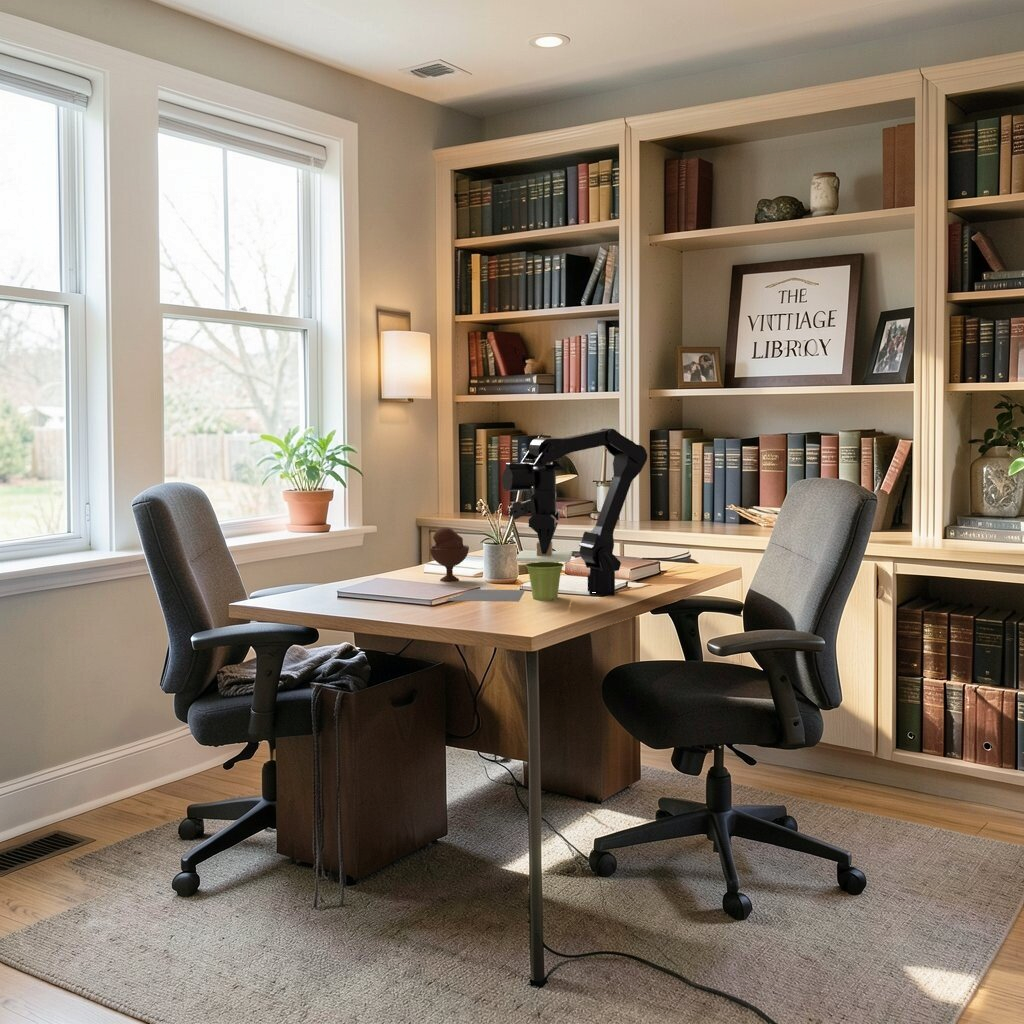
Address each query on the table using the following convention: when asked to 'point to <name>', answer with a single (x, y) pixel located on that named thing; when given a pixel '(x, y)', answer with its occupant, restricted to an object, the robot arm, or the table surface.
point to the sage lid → (544, 555)
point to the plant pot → (544, 579)
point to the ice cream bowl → (448, 551)
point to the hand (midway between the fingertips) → (544, 552)
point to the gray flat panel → (489, 595)
